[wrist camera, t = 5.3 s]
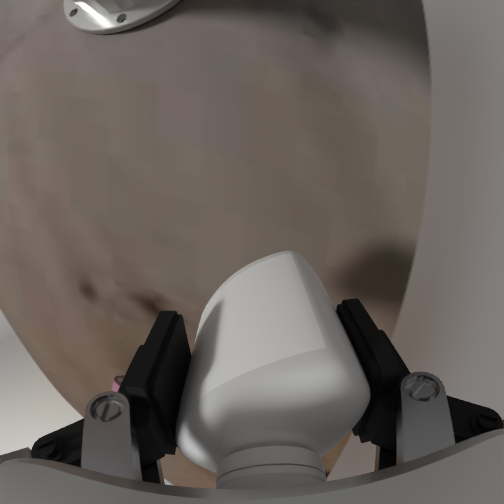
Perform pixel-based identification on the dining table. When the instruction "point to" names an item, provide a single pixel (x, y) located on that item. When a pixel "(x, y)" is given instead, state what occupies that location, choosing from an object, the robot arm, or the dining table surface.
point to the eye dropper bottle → (270, 379)
